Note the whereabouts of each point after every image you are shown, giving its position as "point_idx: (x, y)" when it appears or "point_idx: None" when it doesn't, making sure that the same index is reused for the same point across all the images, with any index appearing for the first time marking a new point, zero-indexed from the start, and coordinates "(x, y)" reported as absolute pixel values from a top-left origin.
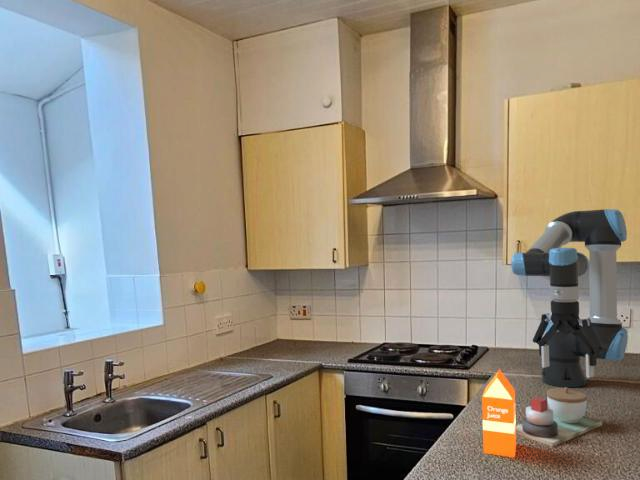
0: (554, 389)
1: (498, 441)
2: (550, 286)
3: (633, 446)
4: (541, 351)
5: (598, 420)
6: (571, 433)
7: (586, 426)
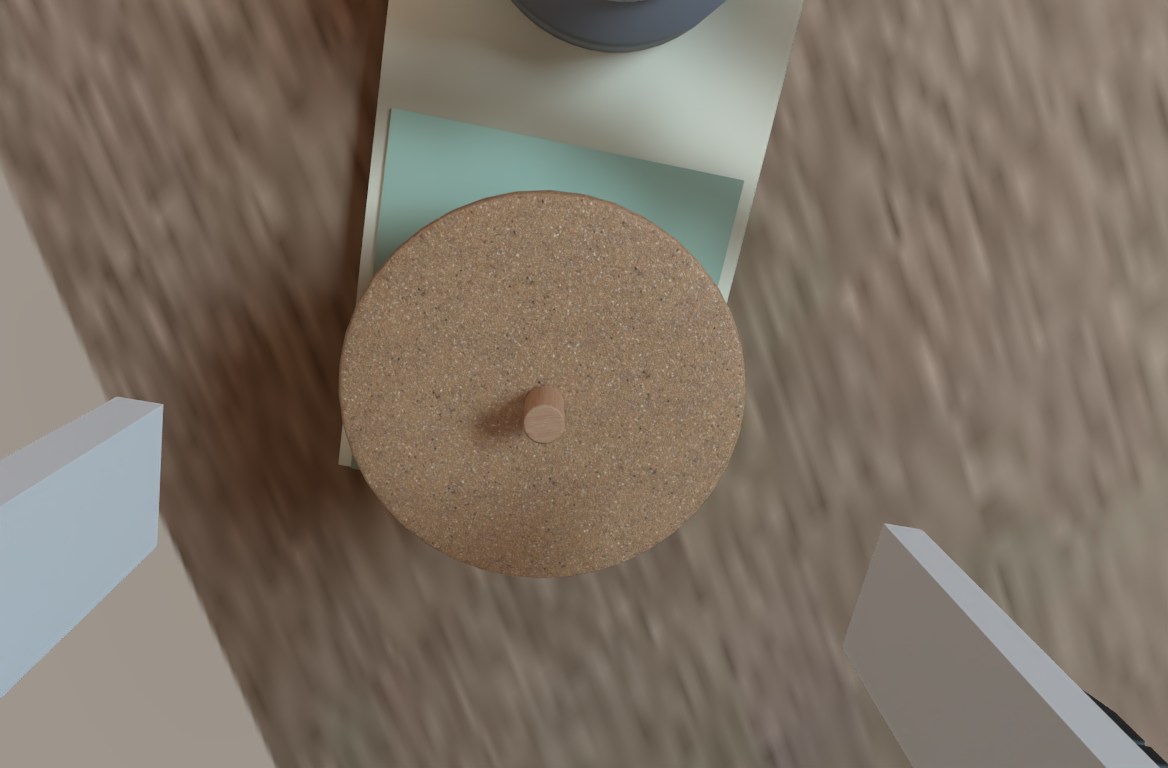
0: (686, 438)
1: None
2: None
3: (13, 181)
4: (1106, 714)
5: None
6: (401, 41)
7: None
